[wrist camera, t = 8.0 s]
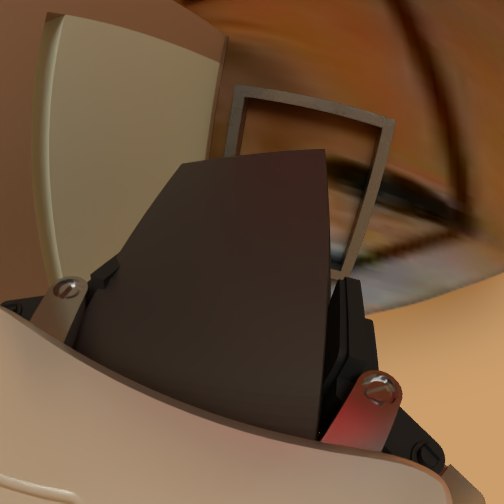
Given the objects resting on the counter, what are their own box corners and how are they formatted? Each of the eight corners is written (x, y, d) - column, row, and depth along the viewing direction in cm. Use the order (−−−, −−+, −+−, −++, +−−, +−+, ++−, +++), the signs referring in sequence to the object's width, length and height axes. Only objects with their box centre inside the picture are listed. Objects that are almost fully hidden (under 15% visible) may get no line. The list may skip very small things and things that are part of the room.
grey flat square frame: (392, 120, 22) (396, 120, 20) (346, 275, 29) (347, 282, 28) (240, 86, 24) (235, 84, 22) (217, 240, 31) (212, 246, 30)
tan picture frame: (232, 37, 22) (19, -65, 1) (200, 275, 34) (77, 439, 14) (190, 36, 22) (-29, -19, 2) (167, 265, 34) (34, 407, 14)
